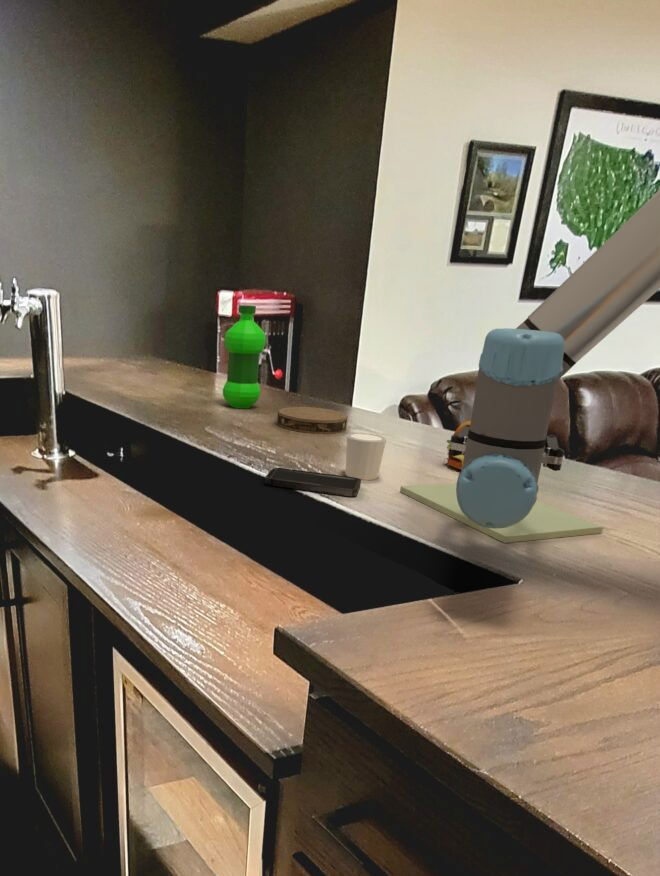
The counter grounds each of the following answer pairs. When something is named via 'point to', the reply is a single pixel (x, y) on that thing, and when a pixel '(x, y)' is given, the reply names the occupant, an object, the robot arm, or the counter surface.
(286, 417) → the brown round disc
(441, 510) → the mat
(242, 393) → the plastic bottle
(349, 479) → the phone
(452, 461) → the cheeseburger
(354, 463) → the white cup
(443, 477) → the counter surface
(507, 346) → the robot arm
